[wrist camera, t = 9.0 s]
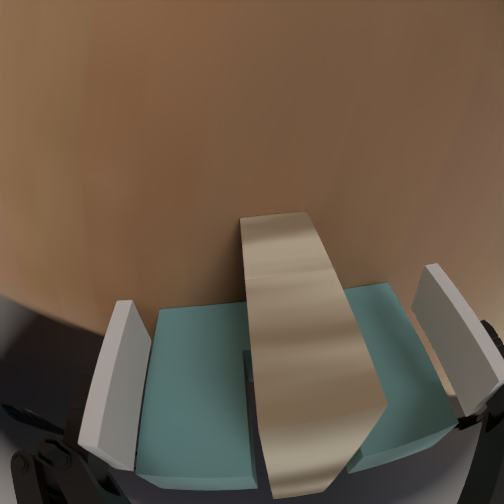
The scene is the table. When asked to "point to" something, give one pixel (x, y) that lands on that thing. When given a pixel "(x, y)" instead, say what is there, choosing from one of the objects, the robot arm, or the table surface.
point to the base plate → (241, 373)
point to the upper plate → (304, 356)
